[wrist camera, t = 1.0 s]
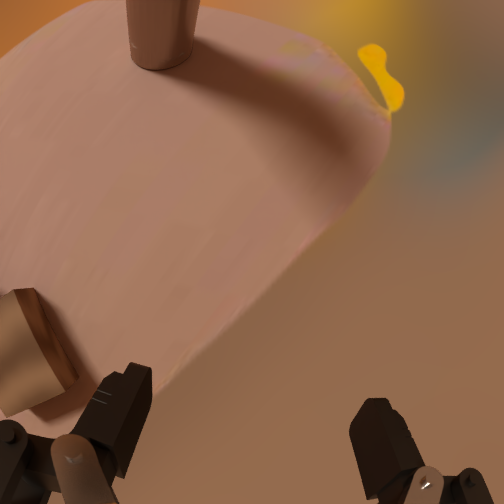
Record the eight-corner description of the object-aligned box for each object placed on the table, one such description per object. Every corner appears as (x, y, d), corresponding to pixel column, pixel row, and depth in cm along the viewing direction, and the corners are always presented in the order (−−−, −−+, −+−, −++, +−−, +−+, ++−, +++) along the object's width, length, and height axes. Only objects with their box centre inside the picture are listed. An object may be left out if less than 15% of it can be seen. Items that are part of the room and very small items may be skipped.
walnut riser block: (-19, 324, 23) (-40, 329, 18) (33, 287, 26) (13, 289, 21) (22, 403, 23) (6, 417, 19) (79, 376, 27) (65, 391, 22)
